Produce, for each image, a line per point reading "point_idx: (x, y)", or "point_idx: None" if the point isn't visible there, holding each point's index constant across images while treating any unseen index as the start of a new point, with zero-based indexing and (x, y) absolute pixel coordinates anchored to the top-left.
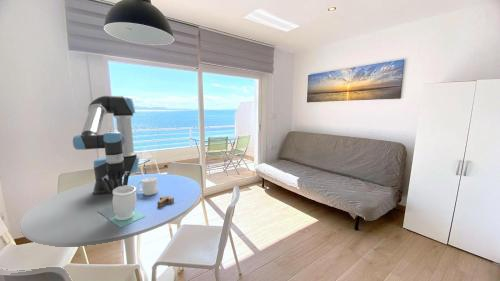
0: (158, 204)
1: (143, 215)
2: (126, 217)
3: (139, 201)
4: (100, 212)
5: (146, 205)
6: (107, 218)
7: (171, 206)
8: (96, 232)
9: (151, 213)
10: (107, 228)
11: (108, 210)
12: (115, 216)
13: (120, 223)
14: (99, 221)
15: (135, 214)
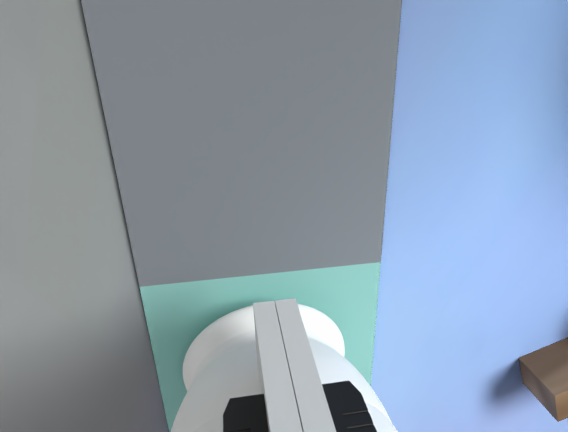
0: (537, 383)
1: None
2: None
3: (543, 103)
4: (96, 26)
5: (500, 264)
6: (135, 258)
7: None
8: (12, 425)
9: (419, 419)
10: (96, 421)
11: (194, 57)
12: (186, 362)
13: None
14: (55, 260)
15: None
